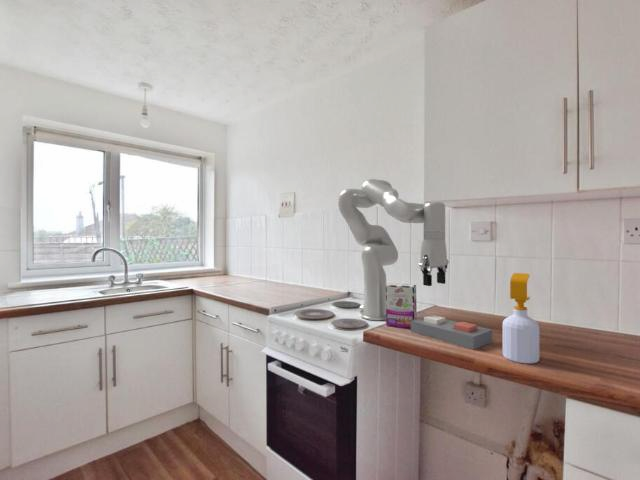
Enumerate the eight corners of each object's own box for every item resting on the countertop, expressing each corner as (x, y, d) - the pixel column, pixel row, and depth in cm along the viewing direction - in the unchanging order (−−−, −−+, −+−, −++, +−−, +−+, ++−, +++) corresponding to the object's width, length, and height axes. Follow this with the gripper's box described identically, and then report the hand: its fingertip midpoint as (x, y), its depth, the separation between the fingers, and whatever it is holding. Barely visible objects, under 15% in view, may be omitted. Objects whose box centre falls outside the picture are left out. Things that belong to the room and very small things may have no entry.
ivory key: (423, 323, 121) (423, 317, 121) (432, 320, 125) (432, 314, 125) (436, 326, 117) (436, 320, 117) (445, 324, 120) (445, 317, 120)
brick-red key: (453, 330, 112) (453, 324, 112) (462, 328, 115) (462, 321, 115) (468, 334, 107) (468, 327, 107) (477, 331, 111) (477, 324, 111)
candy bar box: (417, 326, 129) (416, 284, 129) (414, 329, 125) (414, 286, 124) (389, 322, 134) (388, 282, 134) (385, 325, 130) (385, 284, 130)
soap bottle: (541, 357, 96) (541, 273, 95) (535, 367, 89) (536, 276, 89) (506, 350, 102) (506, 271, 101) (499, 358, 95) (499, 274, 95)
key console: (410, 331, 122) (410, 320, 122) (430, 325, 129) (430, 315, 129) (473, 349, 103) (473, 336, 103) (492, 341, 110) (492, 329, 110)
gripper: (439, 235, 128) (439, 281, 129) (410, 236, 118) (410, 285, 118) (457, 236, 122) (457, 283, 123) (428, 236, 112) (428, 288, 112)
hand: (434, 284), depth 121 cm, fingers open, 7 cm apart
